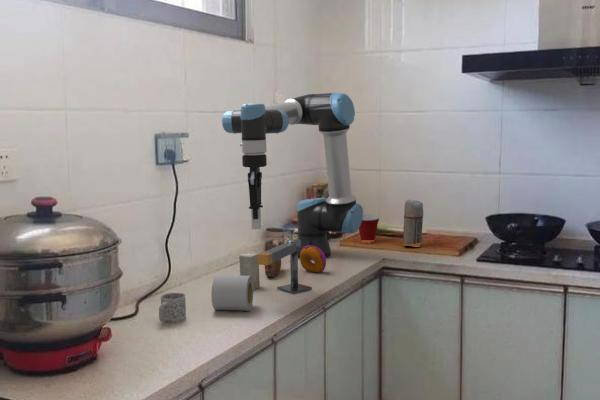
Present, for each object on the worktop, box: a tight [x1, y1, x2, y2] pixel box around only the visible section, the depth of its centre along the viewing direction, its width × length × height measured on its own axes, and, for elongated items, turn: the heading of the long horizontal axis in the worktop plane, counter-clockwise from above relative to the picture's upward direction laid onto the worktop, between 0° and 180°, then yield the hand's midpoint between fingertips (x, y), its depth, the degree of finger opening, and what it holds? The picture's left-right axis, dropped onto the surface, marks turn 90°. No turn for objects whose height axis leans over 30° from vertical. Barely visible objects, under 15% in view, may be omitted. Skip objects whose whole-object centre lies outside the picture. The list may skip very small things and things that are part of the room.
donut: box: [299, 245, 327, 273], centre depth 229 cm, size 8×9×10 cm
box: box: [238, 252, 261, 290], centre depth 209 cm, size 5×4×11 cm
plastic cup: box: [358, 213, 381, 241], centre depth 283 cm, size 11×11×12 cm
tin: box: [264, 258, 282, 278], centre depth 227 cm, size 15×3×8 cm, turn 168°
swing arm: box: [256, 238, 301, 266], centre depth 196 cm, size 24×4×3 cm, turn 156°
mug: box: [158, 292, 187, 324], centre depth 176 cm, size 10×7×7 cm, turn 159°
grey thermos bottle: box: [402, 199, 424, 244], centre depth 273 cm, size 8×8×20 cm
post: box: [276, 251, 313, 295], centre depth 206 cm, size 8×8×12 cm
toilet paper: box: [210, 274, 255, 312], centre depth 186 cm, size 10×10×10 cm
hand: (256, 228), depth 201 cm, fingers closed
